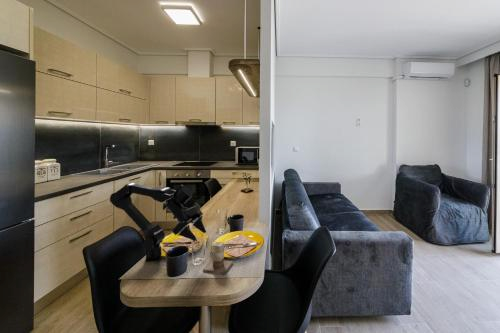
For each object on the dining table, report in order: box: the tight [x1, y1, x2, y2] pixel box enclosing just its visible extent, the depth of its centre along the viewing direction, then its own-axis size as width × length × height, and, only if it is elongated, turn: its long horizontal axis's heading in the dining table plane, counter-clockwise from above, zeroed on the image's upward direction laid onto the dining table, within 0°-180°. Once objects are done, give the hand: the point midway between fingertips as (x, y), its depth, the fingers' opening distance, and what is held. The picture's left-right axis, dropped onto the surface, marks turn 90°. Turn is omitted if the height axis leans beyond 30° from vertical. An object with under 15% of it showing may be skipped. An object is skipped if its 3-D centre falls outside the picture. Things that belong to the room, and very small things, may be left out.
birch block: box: [211, 241, 225, 262], centre depth 119 cm, size 4×4×7 cm
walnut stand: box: [202, 258, 233, 276], centre depth 120 cm, size 10×10×4 cm
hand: (200, 236), depth 120 cm, fingers open, 9 cm apart
